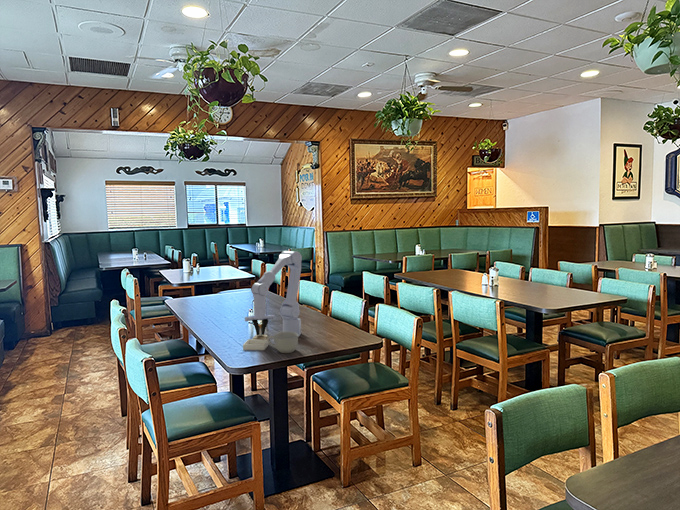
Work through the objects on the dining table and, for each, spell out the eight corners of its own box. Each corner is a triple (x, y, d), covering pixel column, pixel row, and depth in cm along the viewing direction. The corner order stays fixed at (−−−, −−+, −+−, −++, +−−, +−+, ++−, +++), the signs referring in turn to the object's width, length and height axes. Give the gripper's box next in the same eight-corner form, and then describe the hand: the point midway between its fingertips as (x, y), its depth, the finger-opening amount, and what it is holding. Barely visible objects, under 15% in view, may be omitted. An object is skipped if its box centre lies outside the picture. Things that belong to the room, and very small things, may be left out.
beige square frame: (267, 340, 232) (267, 335, 232) (265, 344, 226) (264, 338, 226) (255, 340, 233) (255, 334, 233) (252, 344, 227) (252, 337, 227)
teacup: (299, 348, 220) (298, 331, 219) (297, 354, 209) (297, 337, 209) (269, 348, 219) (269, 331, 219) (266, 355, 209) (266, 337, 208)
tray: (268, 344, 226) (268, 339, 226) (264, 350, 216) (264, 345, 216) (248, 344, 226) (248, 339, 226) (243, 350, 216) (242, 344, 216)
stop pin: (263, 341, 231) (263, 324, 230) (262, 343, 228) (261, 325, 228) (258, 341, 231) (258, 324, 230) (257, 343, 228) (257, 325, 228)
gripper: (273, 305, 234) (273, 331, 235) (243, 306, 230) (244, 333, 231) (275, 307, 228) (276, 334, 229) (245, 309, 223) (246, 337, 224)
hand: (260, 334), depth 229 cm, fingers closed on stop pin, 2 cm apart
